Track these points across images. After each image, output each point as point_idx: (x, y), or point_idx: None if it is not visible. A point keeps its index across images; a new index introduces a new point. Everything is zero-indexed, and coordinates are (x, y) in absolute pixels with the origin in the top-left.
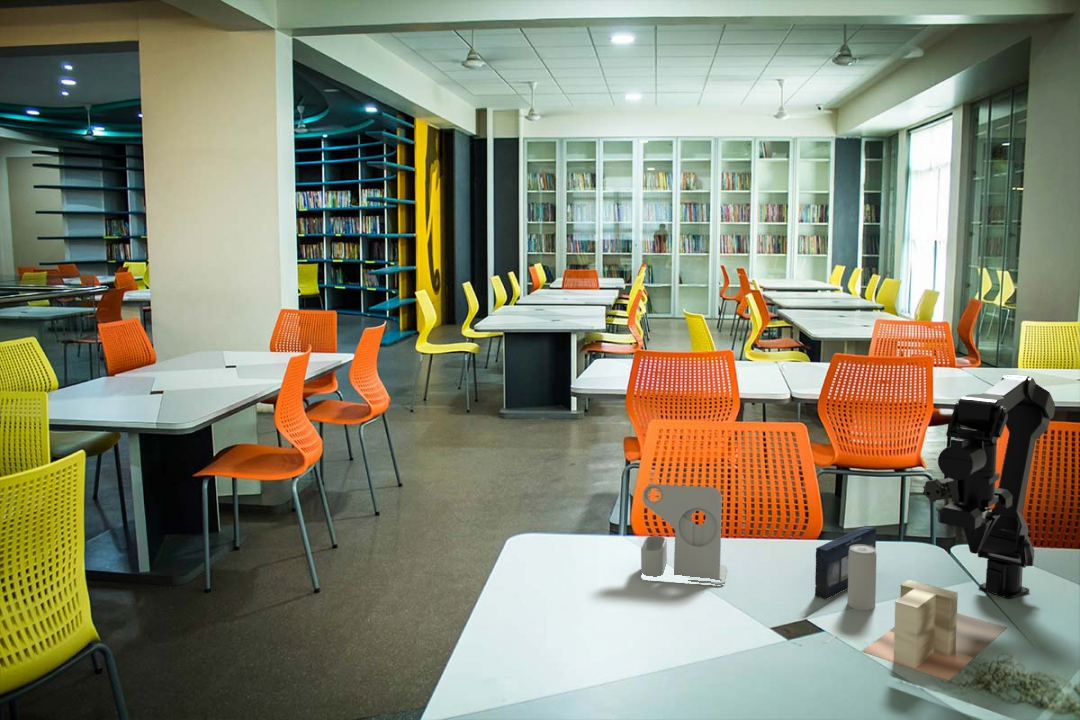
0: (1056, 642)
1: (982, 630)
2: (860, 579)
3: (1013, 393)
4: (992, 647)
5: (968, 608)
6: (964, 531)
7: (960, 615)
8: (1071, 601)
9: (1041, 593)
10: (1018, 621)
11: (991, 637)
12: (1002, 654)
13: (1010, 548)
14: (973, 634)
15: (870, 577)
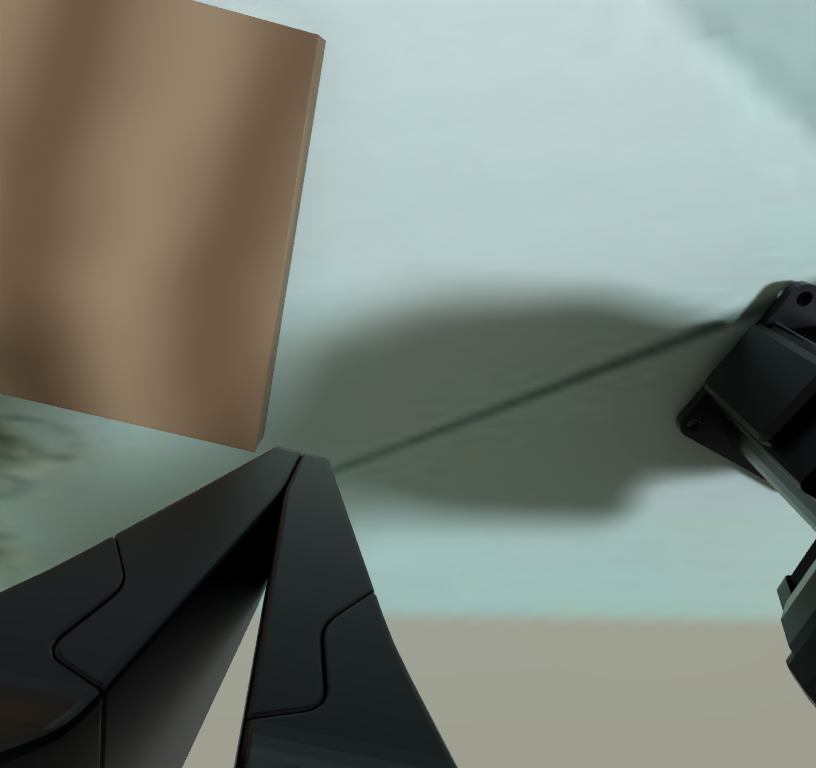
0: None
1: (150, 364)
2: None
3: None
4: None
5: (475, 261)
6: (29, 583)
7: (266, 252)
8: (733, 619)
9: (798, 531)
10: (422, 465)
11: (98, 403)
12: (55, 431)
13: (807, 639)
14: (76, 333)
15: None
